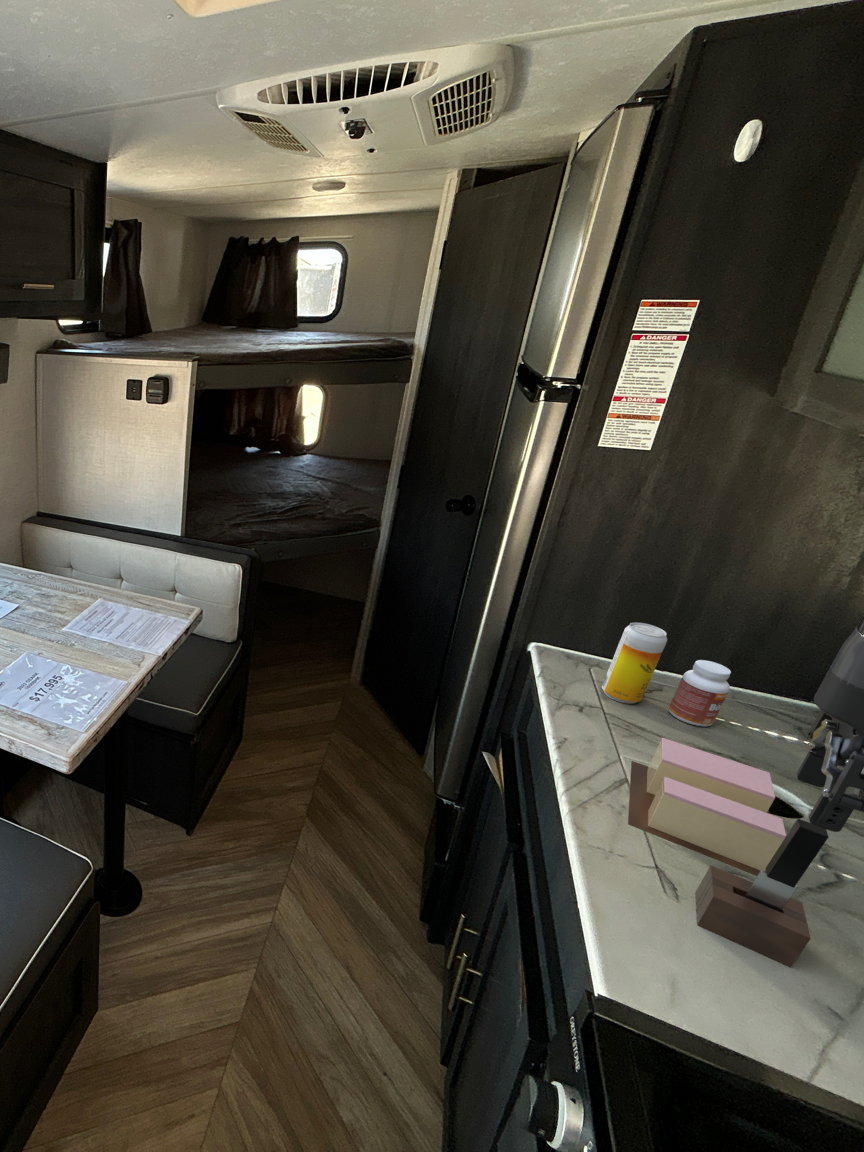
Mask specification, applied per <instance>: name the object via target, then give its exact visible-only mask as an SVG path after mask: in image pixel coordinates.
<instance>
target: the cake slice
mask: <svg viewBox="0 0 864 1152" xmlns="http://www.w3.org/2000/svg"><path fill="white" fill-rule="evenodd" d="M648 826H649V827H652V828H654V829H657V830H659V831H662V832H664V833H667V834H669V835H672V836H674V837H677V838H679V839H682V840H684V841H687V842H689V843H692V844H694V845H697V846H699V847H702V848H704V849H707V850H709V851H712V852H715V853H717V854H720V855H722V856H725V857H727V858H730V859H732V860H735V861H737V862H740V863H742V864H745V865H747V866H750V867H752V868H755V869H757V870H760V871H761V870H763V871H766V867H767V865H768V864H769V862H770V861H771V859H772V857H773V856H774V854H775V853H776V851H777V850H778V848H779V847H780V845H781V844H782V842H783V840H784V839H785V837H786V836H787V832H786V828H785V824H784V819H783V818H782V817H779V816H776V815H774V814H771V813H769V814H768V813H765V812H762V811H760V810H757V809H754V808H751V807H748V806H746V805H743V804H740V803H737V802H734V801H732V800H729V799H726V798H723V797H720V796H718V795H715V794H712V793H709V792H706V791H704V790H701V789H698V788H695V787H692V786H690V785H687V784H684V783H681V782H678V781H676V780H673V779H670V778H667V777H664V778H663V781H662V783H661V785H660V787H659V789H658V791H657V793H656V795H655V797H654V800H653V802H652V804H651V806H650V808H649V810H648Z"/></svg>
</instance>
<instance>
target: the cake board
mask: <svg viewBox="0 0 864 1152" xmlns="http://www.w3.org/2000/svg"><path fill="white" fill-rule="evenodd" d="M630 762H631V763H630V778H629V781H630V782H629V796H628V798H629V799H628V814H627V815H628V816H627V825H629V826H631V827H633V828H635V829H639V830H641V831H643V832H646V833H648V834H651V835H653V836H656V837H658V838H661V839H662V840H663V839H664V840H666V841H668V842H671V843H673V844H676V845H678V846H681V847H682V848H683V847H684V848H686V849H689V850H691V851H694V852H696V853H699V854H700V855H703V856H706V857H709V858H711V859H713V860H716V861H718V862H721V863H723V864H726V865H728V866H731V867H733V868H735V869H738V870H741V871H743V872H746V873H748V874H751V875H752V876H753V875H754V876H755V877H757V875H758V874H759V872H760V870H757V869H755V868H752V867H750V866H747V865H745V864H742V863H740V862H737V861H735V860H732V859H730V858H727V857H725V856H722V855H720V854H717V853H715V852H712V851H709V850H707V849H704V848H702V847H699V846H697V845H694V844H692V843H689V842H687V841H684V840H682V839H679V838H677V837H674V836H672V835H669V834H667V833H664V832H662V831H659V830H657V829H654V828H652V827H649V826H648V810H649V808H650V806H651V804H652V802H653V800H654V797H655V795H653V794H651V793H648V792H647V769H648V767H649V765H645V764H642V763H640V762H637V761H634V760H631V761H630ZM767 813H768V814H770V809H769V810H768V812H767ZM765 872H766V871H765Z"/></svg>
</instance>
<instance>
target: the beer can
mask: <svg viewBox="0 0 864 1152" xmlns="http://www.w3.org/2000/svg"><path fill="white" fill-rule="evenodd" d="M667 634H668V633H667V632H666V631H665V630H663V629H662V628H660V627H658V626H656V625H652V624H649V623H644V622H630V623H629V625H627V626H626V627H625V628H624V631H623V632H622V635H621V637H620V639H619V641H618V644H617V647H616V650H615V653H614V655H613V658H612V660H611V662H610V665H609V667H608V670H607V672H606V674H605V677H604V680H603V682H602V685H601V689H602V690H603V693H604V694H605V696H606V697H608V698H610V699H611V700H614V701H616V702H619V703H622V704H627V705H634V704H637V703H639V702H641V701H642V700H643V698H644V695H645V693H646V691H647V689H648V687H649V684H650V681H651V679H652V677H653V675H654V672H655V670H656V668H657V665H658V663H659V660H660V659H661V656H662V654H663V651H664V649H665V647H666V645H667V642H668V637H667Z"/></svg>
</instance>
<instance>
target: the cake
mask: <svg viewBox="0 0 864 1152" xmlns="http://www.w3.org/2000/svg"><path fill="white" fill-rule="evenodd" d="M664 777H667V778H670V779H673V780H676V781H678V782H681V783H684V784H687V785H690V786H692V787H695V788H698V789H701V790H704V791H706V792H709V793H712V794H715V795H718V796H720V797H723V798H726V799H729V800H732V801H734V802H737V803H740V804H743V805H746V806H748V807H751V808H754V809H757V810H760V811H762V812H765V813H767V812H768V810H769V811H770V808H771V806H772V805H773V803H774V801H775V799H776V794H775V789H774V785H773V782H772V781H773V780H772V776H771V773H770V772H769V771H765V770H762V769H759V768H757V767H753V766H750V765H747V764H744V763H742V762H738V761H736V760H732V759H729V758H727V757H723V756H720V755H716V754H713V753H711V752H707V751H705V750H702V749H699V748H696V747H692V746H689V745H687V744H683V743H680V742H677V741H675V740H672V739H668V738H665V737H661V739H660V741H659V743H658V745H657V748H656V750H655V752H654V753H653V756H652V759H651V761H650V763H649V765H648V769H647V792H648V793H651V794H653V795H656V793H657V791H658V789H659V787H660V785H661V783H662V781H663V778H664Z"/></svg>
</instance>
